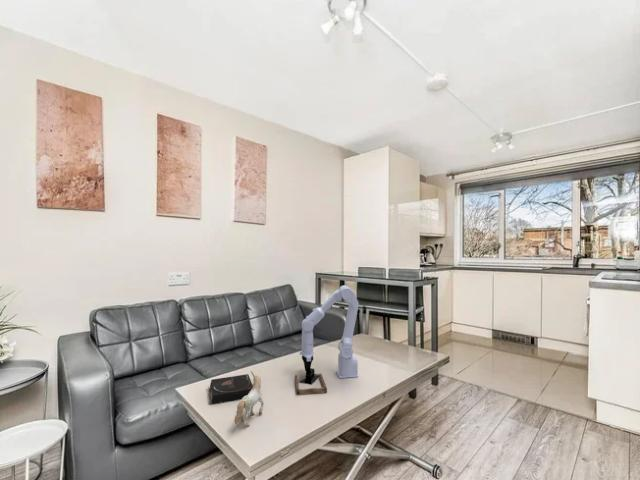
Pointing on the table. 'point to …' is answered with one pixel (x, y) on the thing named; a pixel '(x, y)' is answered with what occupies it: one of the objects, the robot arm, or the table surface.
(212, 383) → the portable cd player
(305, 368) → the robot arm
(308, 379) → the black bevelled base
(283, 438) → the table surface
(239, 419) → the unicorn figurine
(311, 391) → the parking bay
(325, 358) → the table surface
